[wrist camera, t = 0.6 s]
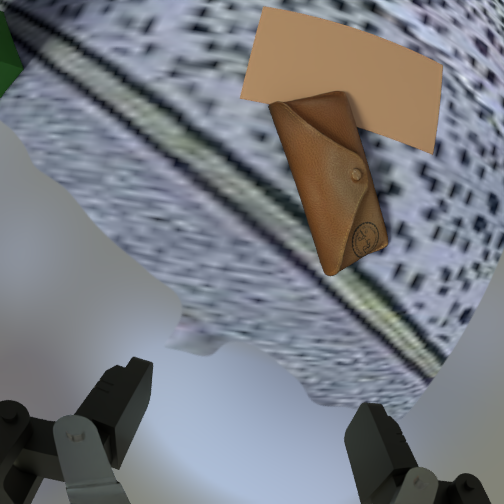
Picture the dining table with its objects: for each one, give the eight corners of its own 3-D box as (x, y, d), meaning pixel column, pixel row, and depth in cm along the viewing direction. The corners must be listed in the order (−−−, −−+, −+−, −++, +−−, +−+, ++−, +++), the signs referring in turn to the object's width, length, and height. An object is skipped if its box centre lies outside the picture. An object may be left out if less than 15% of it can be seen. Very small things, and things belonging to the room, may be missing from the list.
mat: (263, 7, 26) (263, 6, 26) (441, 65, 26) (442, 65, 26) (240, 99, 29) (239, 98, 28) (431, 154, 29) (432, 154, 29)
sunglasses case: (394, 246, 31) (386, 273, 26) (336, 256, 35) (318, 282, 30) (343, 85, 27) (324, 76, 22) (286, 107, 31) (256, 105, 26)
